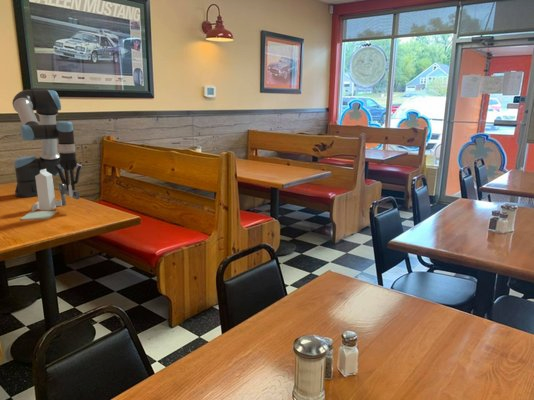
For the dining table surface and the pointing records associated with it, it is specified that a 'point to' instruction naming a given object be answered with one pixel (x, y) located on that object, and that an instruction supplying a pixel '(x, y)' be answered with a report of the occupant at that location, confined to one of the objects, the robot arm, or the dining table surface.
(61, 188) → the dark grey metallic bar
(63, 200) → the bracket
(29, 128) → the robot arm
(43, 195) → the milk
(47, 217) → the mat
